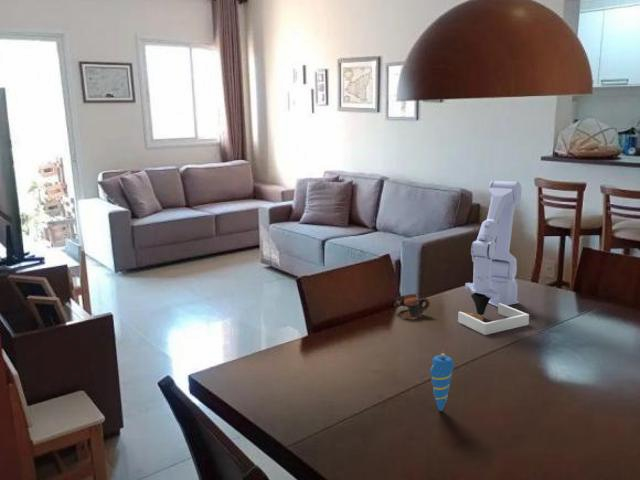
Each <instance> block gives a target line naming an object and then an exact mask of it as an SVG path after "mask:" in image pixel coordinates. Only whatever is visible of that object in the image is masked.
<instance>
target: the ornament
mask: <svg viewBox="0 0 640 480" xmlns="http://www.w3.org/2000/svg"><path fill="white" fill-rule="evenodd" d="M431 364H432V366H430V369H429V370H430V374H431V384H432V387H433V388H432V393H433V396H434V399H435V402H436V406H437V409H438V411H439V412H442V411H443V410H444V407H445V405H446V403H447V401H448V398H449V395H448V394H449V391H450V389H451V384H450V383H451V381H452V379H453V371H454V367H455V365H454V360H452V358H451V357H450V356H447V355H446V353H445V352H444V350H442V351H441V353H440V354H439V355H435V356H434V357H433V358H432V363H431Z"/></svg>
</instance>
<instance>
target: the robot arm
mask: <svg viewBox="0 0 640 480" xmlns="http://www.w3.org/2000/svg"><path fill="white" fill-rule="evenodd" d="M487 192H488V197H489V200H490V205H489V207H488V212H487V216H486V219H485V220H484V221H482V222H481V225H480V229H479V232H478V235H477V238H476V239H475V240H474V241H472V244H471V248H470V254H471V261H472V262H473V271H472V272H473V275H472V278H473V279H472V282H466V283H464V284H465V285H464V288H465V290H469V291H470V292H471V295H470V296H471V298H472V300H473V303H474V306H475V310H476V314H479V315H482V316H484V315H485V312H486V309H487V306H488V304H489V305H492V306H495V307H497V308H498V304H499V303H502V304H504V305H507V306H512V305H515V304H519V301H518V288H519V285H518V282H517V280H516V279H515V278H516V276H517V269H518V266H517V262H518V261H517V258H516V257H515V255H513V254H512V253H511V252H510V249H511V241H512V240H511V239H512V234H513V233H512V232H513V231H512V230H513V224H514V223H513V222H514V214H515V213H514V212H515V209H516V207H517V206H519V205H520V202H521V200H522V199H521V197H522V185H521V183H520V181H518V180H517V181H507V180H494V179H493V180H491V181H490V182H489V185H488V190H487Z"/></svg>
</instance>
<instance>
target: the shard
mask: <svg viewBox="0 0 640 480" xmlns="http://www.w3.org/2000/svg"><path fill="white" fill-rule="evenodd" d="M464 313H465V314H467V315H470V316H472V317H474V318H476V319H478V320H480V321H483V320H484V318H485V317H484V315H479V314H477V313H471V312H464Z"/></svg>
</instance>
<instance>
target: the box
mask: <svg viewBox="0 0 640 480" xmlns="http://www.w3.org/2000/svg"><path fill="white" fill-rule="evenodd" d="M457 313H458V314H457V316H458V317H457V322H458V323H460V324H461V325H464V326H465V327H468V328H470V329H472V330H474V331H476V332H478V333H480V334H482V335H484V336H486V335H491V334H495V333H500V332H504V331H507V330H512V329H515V328H516V329H517V328H521V327H524V326H525V327H526V326H528V325H529V323H530V321H529V320H530V314H529V313H526V312H523V311H521V310H518V309H517V308H513V307H512V306H510V305H504V304H502V303H499V304H498V307H497V314H498V315H501V316H503V317H505V318H501V319H496V320H492V321H488V322H484V321H483V320H482V321H480V320H478V319H476V318H474V317H472V316H470V315H467V314H465V313H466V312H462V311H458V312H457Z"/></svg>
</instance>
